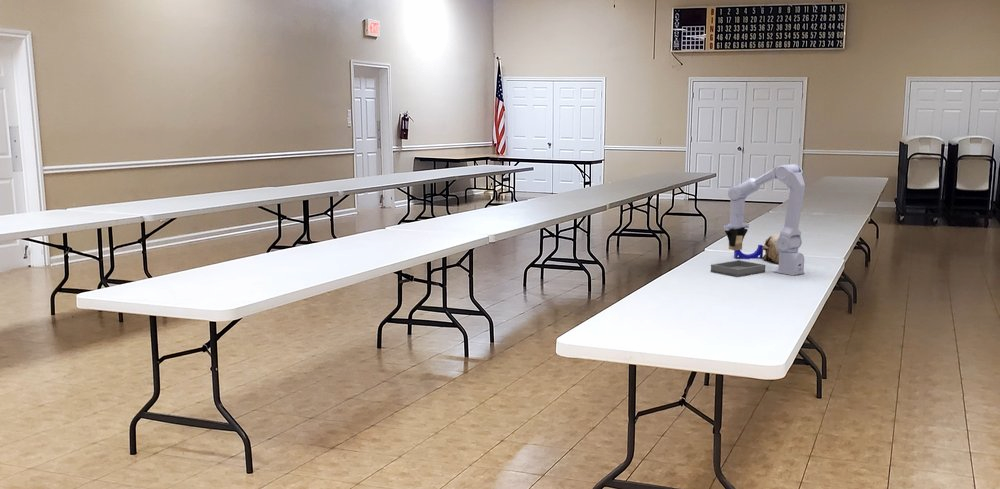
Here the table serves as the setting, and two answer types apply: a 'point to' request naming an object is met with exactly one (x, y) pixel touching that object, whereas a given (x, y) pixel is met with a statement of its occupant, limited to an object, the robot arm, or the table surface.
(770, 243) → the coin bank
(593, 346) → the table surface
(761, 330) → the table surface
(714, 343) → the table surface
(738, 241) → the maple block
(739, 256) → the cable clip
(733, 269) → the tray
